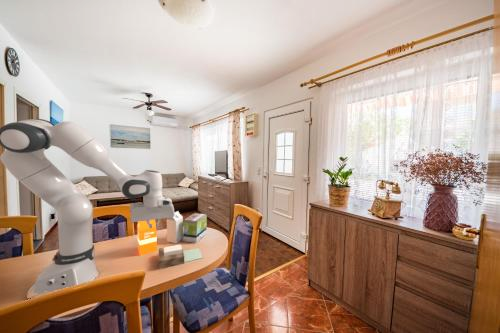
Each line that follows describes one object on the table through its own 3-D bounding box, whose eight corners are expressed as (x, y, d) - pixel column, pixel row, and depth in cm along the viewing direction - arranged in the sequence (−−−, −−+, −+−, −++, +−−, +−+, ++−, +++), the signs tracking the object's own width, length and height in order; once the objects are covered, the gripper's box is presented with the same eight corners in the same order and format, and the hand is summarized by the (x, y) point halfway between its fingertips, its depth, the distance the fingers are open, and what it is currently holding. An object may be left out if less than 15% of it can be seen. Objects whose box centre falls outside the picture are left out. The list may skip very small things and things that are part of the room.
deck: (159, 269, 94) (158, 261, 94) (158, 255, 107) (158, 248, 107) (184, 263, 100) (184, 256, 100) (181, 250, 112) (181, 244, 112)
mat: (184, 262, 101) (184, 261, 101) (181, 251, 111) (181, 251, 111) (202, 258, 105) (202, 257, 105) (198, 248, 116) (198, 247, 116)
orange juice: (157, 250, 112) (156, 217, 111) (140, 255, 107) (139, 221, 105) (154, 245, 118) (153, 214, 117) (137, 250, 113) (136, 217, 111)
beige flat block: (164, 256, 99) (164, 252, 99) (163, 251, 104) (163, 247, 104) (182, 252, 103) (182, 249, 103) (181, 247, 108) (180, 244, 108)
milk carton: (167, 241, 123) (166, 213, 122) (174, 237, 130) (173, 210, 129) (176, 243, 121) (175, 214, 120) (183, 238, 128) (182, 211, 127)
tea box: (197, 243, 122) (197, 220, 121) (183, 241, 124) (182, 219, 123) (207, 233, 137) (206, 213, 136) (194, 232, 139) (194, 212, 138)
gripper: (128, 205, 90) (129, 233, 91) (174, 201, 99) (175, 226, 100) (130, 202, 96) (131, 228, 97) (173, 198, 105) (174, 222, 106)
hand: (153, 227), depth 99 cm, fingers closed
